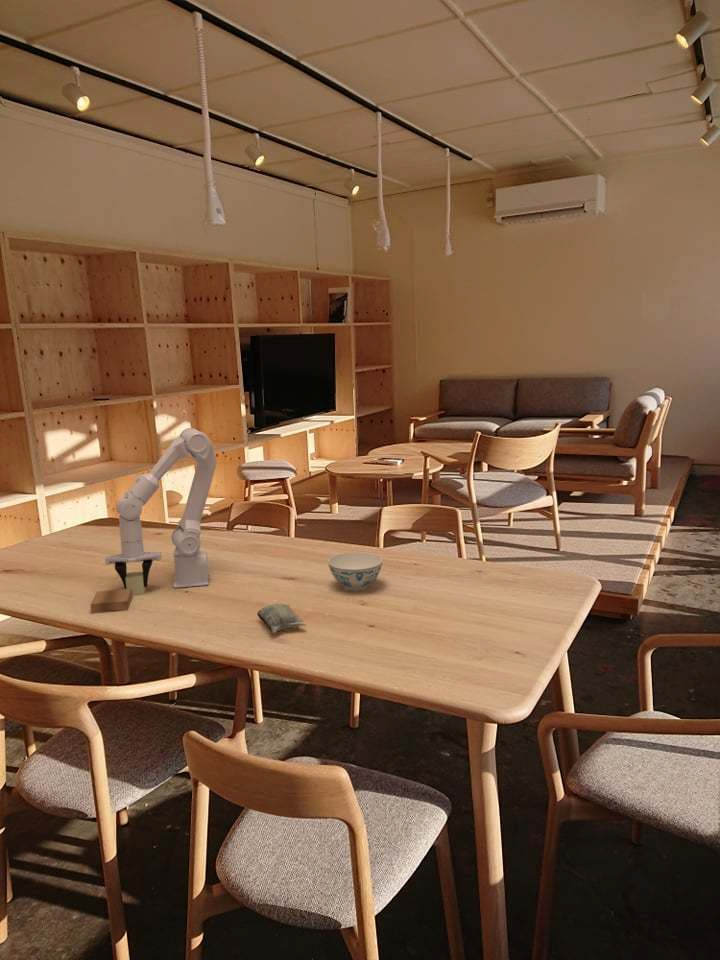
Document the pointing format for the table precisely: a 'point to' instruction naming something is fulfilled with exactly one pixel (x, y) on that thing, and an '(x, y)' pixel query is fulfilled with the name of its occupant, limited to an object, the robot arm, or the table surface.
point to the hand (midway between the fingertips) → (136, 586)
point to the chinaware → (355, 569)
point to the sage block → (135, 582)
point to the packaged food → (280, 618)
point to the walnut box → (111, 601)
